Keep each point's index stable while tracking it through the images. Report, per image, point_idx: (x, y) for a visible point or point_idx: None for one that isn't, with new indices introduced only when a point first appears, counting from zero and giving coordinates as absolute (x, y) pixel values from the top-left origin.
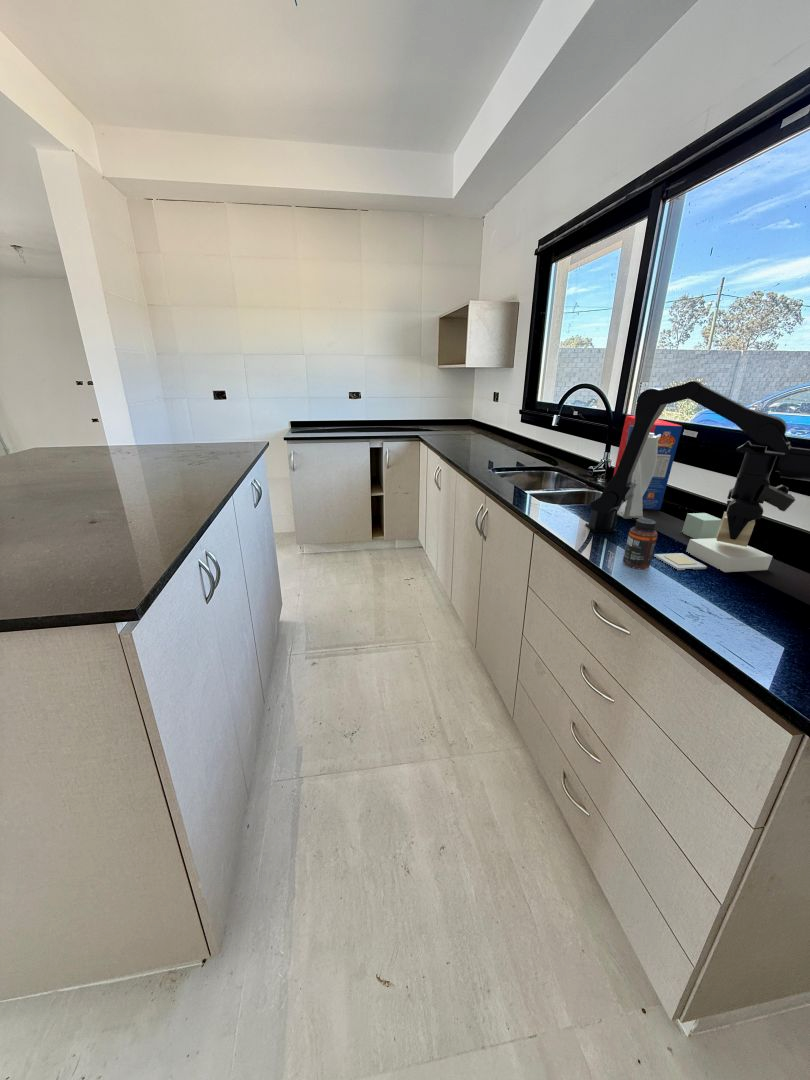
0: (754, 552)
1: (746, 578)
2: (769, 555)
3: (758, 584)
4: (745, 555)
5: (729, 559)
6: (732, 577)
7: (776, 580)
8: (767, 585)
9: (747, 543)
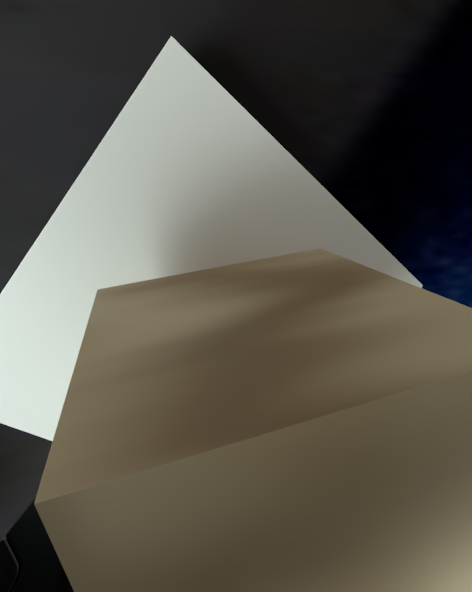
0: (193, 181)
1: (383, 171)
2: (174, 64)
3: (425, 115)
4: (313, 224)
5: (416, 281)
6: (407, 225)
7: (314, 21)
8: (414, 72)
9: (338, 256)
